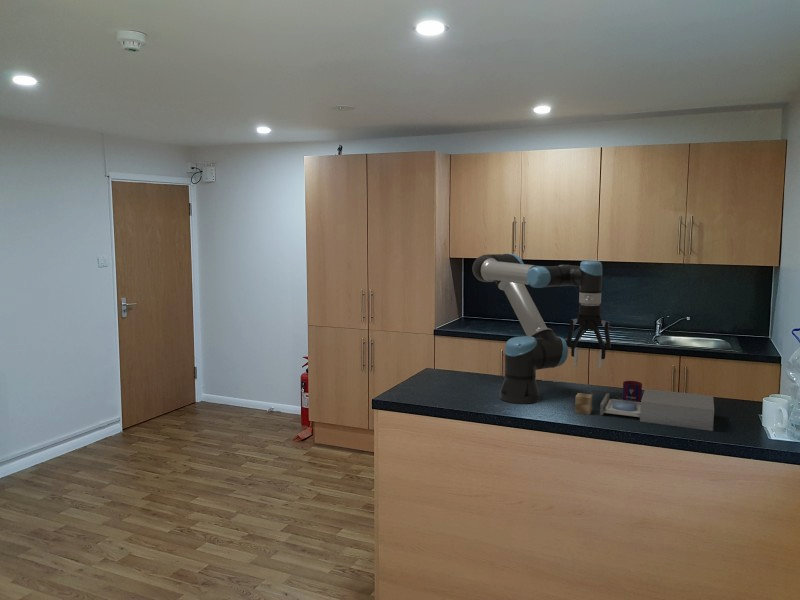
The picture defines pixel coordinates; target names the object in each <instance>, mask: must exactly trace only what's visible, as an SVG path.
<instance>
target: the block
mask: <svg viewBox="0 0 800 600" xmlns="http://www.w3.org/2000/svg"><path fill="white" fill-rule="evenodd" d="M574 405H575V406H574V413H575V414H583V415H589V416H590V414H591V413H592V411H593V393H592V394H591V393H582V392H577V394H576V395H575V403H574Z"/></svg>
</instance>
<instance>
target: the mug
mask: <svg viewBox="0 0 800 600" xmlns="http://www.w3.org/2000/svg"><path fill="white" fill-rule="evenodd" d="M642 391H643V383H642V382H641V381H636V380H625V381H623V382H622V400H625V401H634V402H640V401H641V399H642V396H643V394H642V393H643V392H642Z"/></svg>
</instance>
